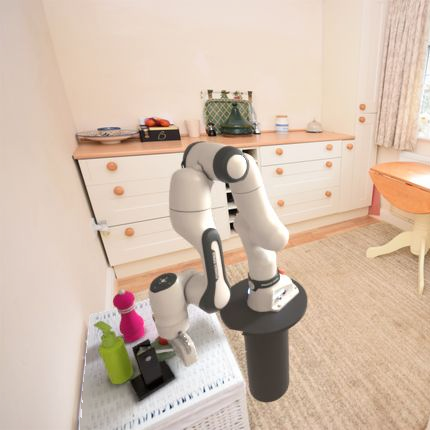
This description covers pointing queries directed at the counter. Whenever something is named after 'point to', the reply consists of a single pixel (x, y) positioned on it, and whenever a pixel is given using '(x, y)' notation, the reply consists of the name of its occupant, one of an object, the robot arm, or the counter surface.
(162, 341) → the button
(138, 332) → the pepper mill
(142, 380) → the bracket
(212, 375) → the counter surface
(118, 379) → the soap dispenser
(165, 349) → the tap lever
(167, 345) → the button block
